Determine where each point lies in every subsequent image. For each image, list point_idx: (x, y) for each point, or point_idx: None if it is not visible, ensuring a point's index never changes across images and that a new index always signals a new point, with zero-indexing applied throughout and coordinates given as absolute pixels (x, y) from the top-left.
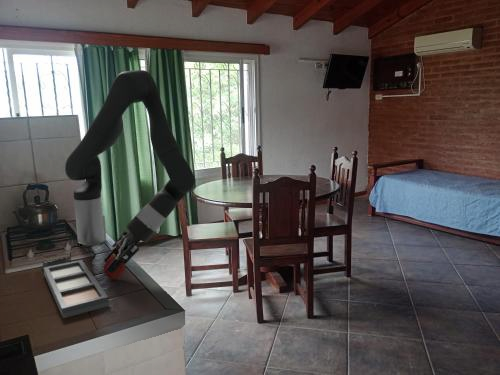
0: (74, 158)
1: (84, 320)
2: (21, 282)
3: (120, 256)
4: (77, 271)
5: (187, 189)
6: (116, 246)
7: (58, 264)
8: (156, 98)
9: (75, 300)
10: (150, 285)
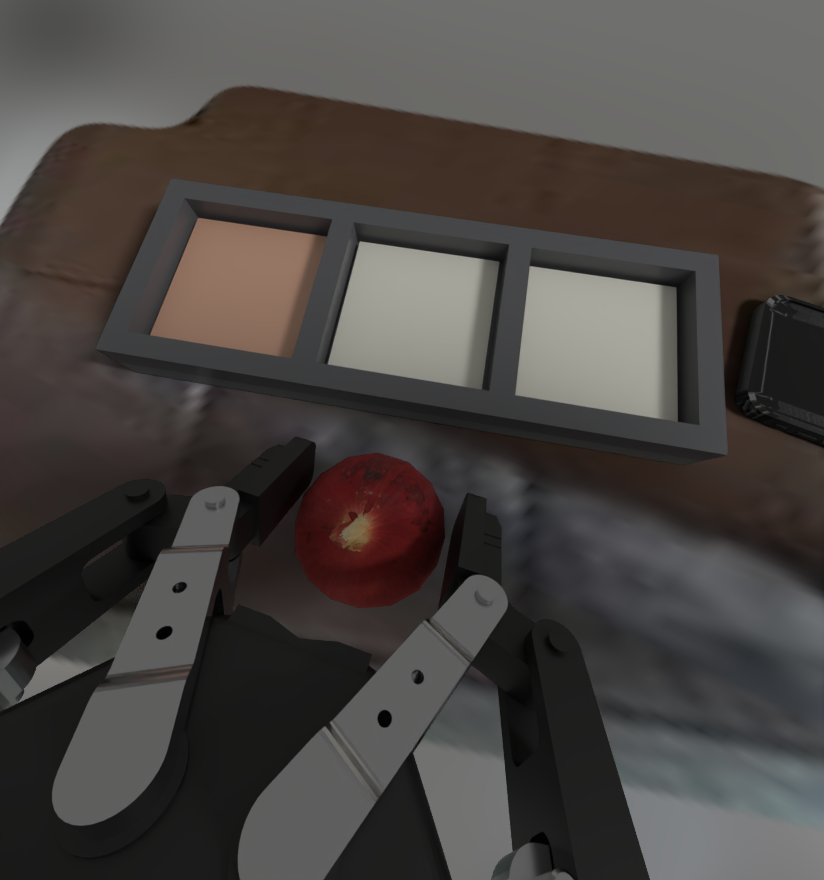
0: None
1: (119, 263)
2: (657, 203)
3: (118, 503)
4: (579, 387)
5: None
6: (427, 623)
7: (795, 372)
8: None
9: (238, 260)
10: None
